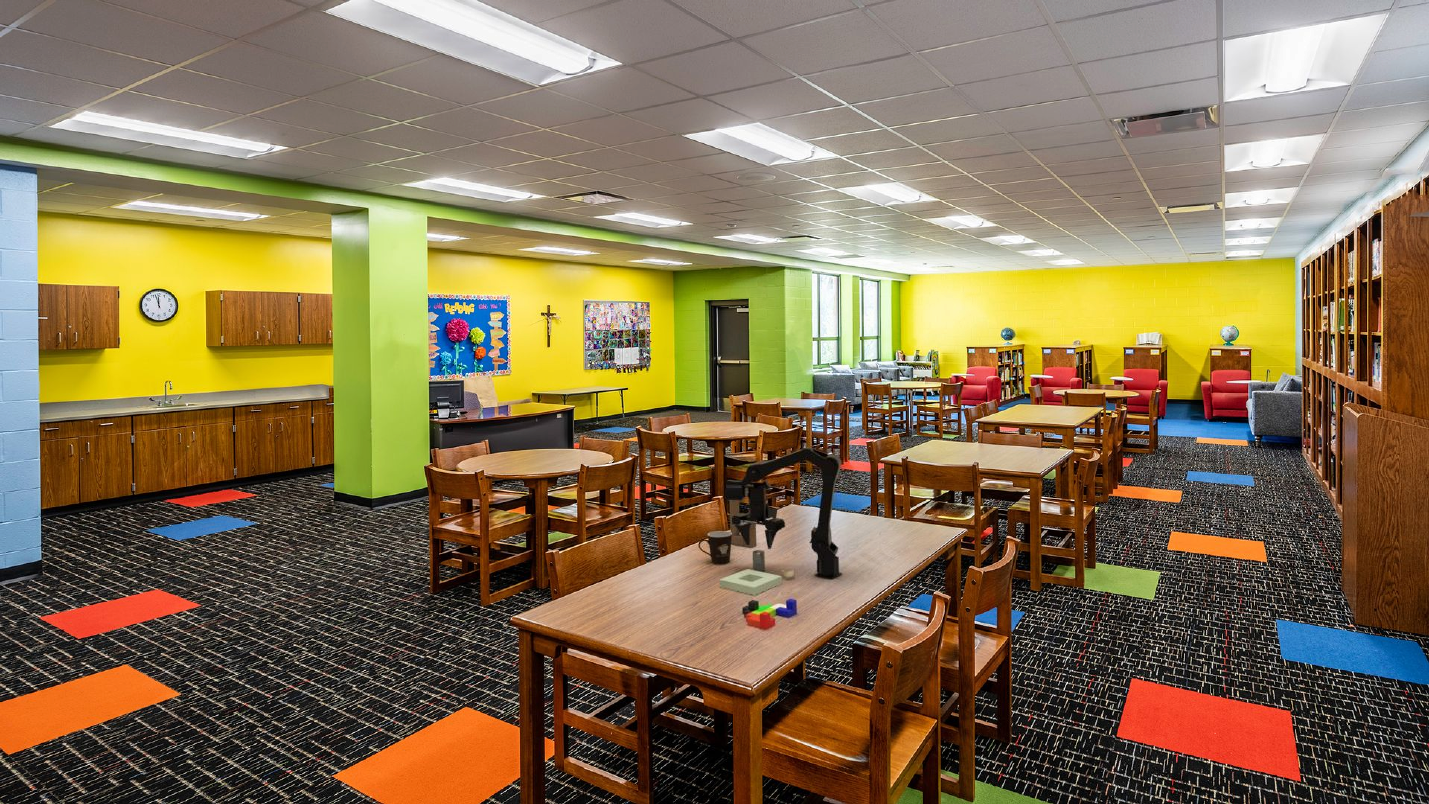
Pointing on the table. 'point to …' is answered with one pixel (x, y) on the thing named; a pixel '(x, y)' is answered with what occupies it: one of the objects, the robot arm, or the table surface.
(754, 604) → the building blocks
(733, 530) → the wooden block
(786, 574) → the short birch pin
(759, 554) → the long steel pin
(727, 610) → the table surface
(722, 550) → the coffee mug
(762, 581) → the hole board
